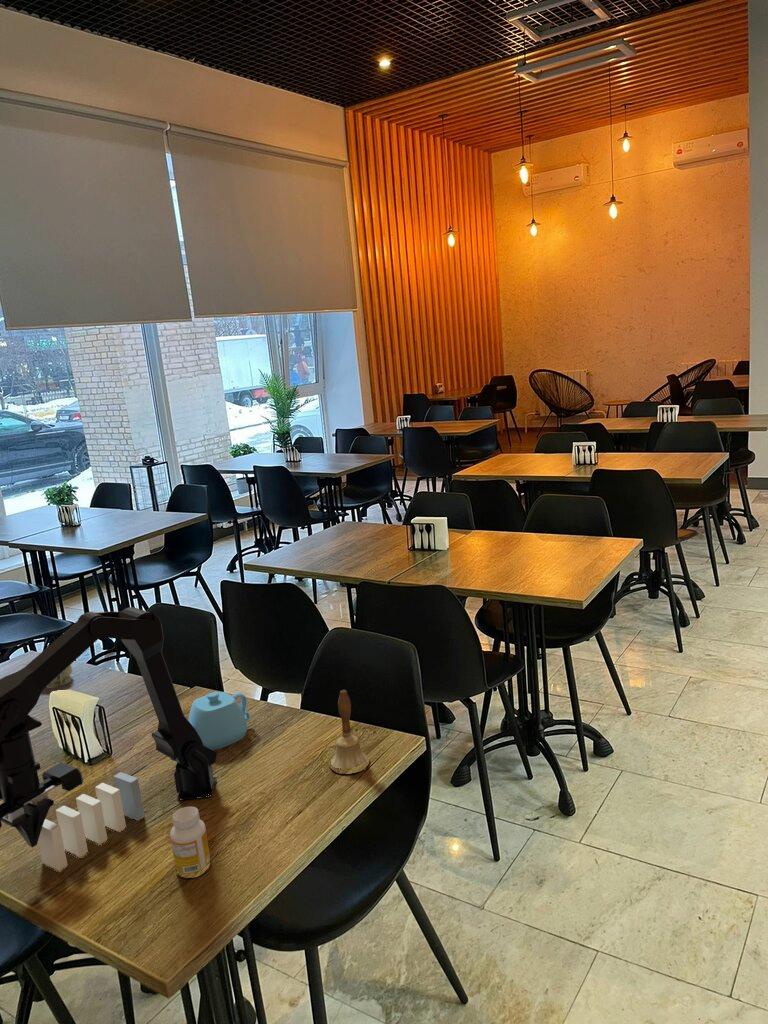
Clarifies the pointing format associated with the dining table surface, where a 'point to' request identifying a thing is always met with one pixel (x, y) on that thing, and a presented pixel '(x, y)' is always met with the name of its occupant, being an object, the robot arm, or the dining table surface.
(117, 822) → the domino
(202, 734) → the teapot
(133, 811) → the domino
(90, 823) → the domino
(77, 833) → the domino
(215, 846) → the dining table surface
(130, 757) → the dining table surface
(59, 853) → the domino
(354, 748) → the hand bell
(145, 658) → the robot arm
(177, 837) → the supplement bottle
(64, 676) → the vessel
